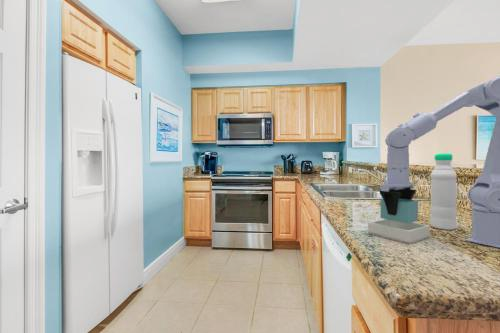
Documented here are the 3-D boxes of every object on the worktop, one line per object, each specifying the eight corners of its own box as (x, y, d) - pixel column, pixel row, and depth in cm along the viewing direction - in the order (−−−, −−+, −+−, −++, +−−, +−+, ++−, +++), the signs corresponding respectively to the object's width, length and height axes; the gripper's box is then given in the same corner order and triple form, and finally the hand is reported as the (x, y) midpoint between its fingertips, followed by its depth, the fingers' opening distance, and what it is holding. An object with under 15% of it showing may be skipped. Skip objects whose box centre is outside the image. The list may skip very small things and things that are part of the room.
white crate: (388, 228, 84) (388, 218, 84) (429, 237, 74) (429, 225, 74) (368, 233, 79) (368, 222, 79) (409, 244, 68) (409, 231, 68)
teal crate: (390, 215, 81) (391, 197, 81) (417, 221, 74) (417, 200, 74) (380, 218, 78) (380, 198, 78) (407, 223, 71) (407, 202, 71)
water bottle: (461, 230, 81) (462, 153, 80) (436, 229, 82) (437, 153, 82) (449, 225, 88) (449, 153, 87) (426, 224, 89) (426, 154, 89)
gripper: (397, 168, 83) (397, 209, 83) (371, 169, 76) (371, 213, 76) (421, 168, 77) (421, 212, 77) (394, 169, 70) (394, 218, 70)
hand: (397, 213), depth 76 cm, fingers closed on teal crate, 6 cm apart
